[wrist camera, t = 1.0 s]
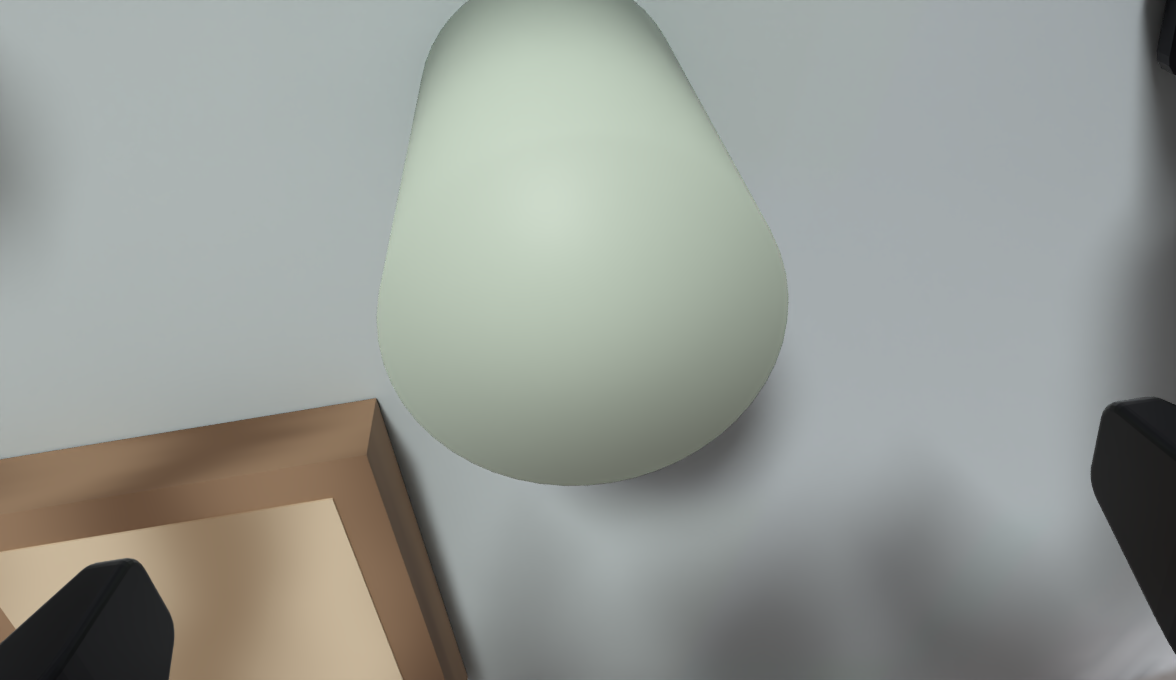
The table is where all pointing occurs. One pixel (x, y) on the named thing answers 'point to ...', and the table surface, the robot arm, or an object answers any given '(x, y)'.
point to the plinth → (243, 545)
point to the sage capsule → (573, 250)
